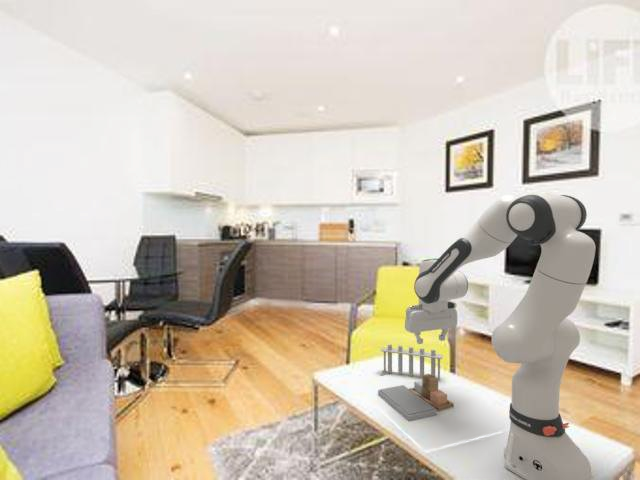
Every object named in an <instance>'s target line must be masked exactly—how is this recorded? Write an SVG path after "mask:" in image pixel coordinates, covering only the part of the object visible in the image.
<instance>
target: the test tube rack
mask: <svg viewBox="0 0 640 480" xmlns="http://www.w3.org/2000/svg"><path fill="white" fill-rule="evenodd" d="M380 352H383V369H382V370H381V372H380V374H379V376H380V377H382V376H389V375H395V374H398V375H399V376H402V375H403V355H405V356H407V355H408V377H411V378H412V377H413V376H414V356H415V357H419V378H420V379H422V375H425V358H430V374H431V375H432V376H434V377H436V360H437V378H438V382H441V360H443V357H444V354H441V353H439V354H438V353H436V352H437V351H436V349H434V348H432V349H430V352H425V348H424V347H420V348H419V351H415V350H414V347H413V346H409V347H408V349H407V350H406V349H403V345H400V344H399V345H398V347H397V348H394V347H393V344H392V343H388V344H387V347H384V346H383V347H382V348H381V349H380ZM393 354H397V357H398V358H397V361H398V362H397V363H398V364H397V367H398V368H397V371H398V372H394V371H393ZM386 359H387V360H386ZM386 361H387V362H386ZM386 366H387V367H386Z"/></svg>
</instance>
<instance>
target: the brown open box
mask: <svg viewBox="0 0 640 480" xmlns="http://www.w3.org/2000/svg"><path fill="white" fill-rule="evenodd" d="M421 380H422V396H421V395H420V394H418V393H417V392H415V391H414V387H412V388H411V387H410V388H408V389H409V390H411V391H412V392H413V393H415V394H416V395H418V396H419V397H420V398H422V399H423V400H424V401H426V402H427V403H428V404H430V405H431V406H433V407H434V408H435V409H436V410H437V413H438V412H441V411H445V410H449V409H454V407H455V405H454V403H453V402H451V401H450V400H448V399H447V404H446V405H442V406H436V405H435V404H433V403H432V402H430V392H431V391H436V390H439V381H438V377H436V376H435V377H434V376H432V375H431V373H426V374H425V373H424V375H422V378H421Z"/></svg>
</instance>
